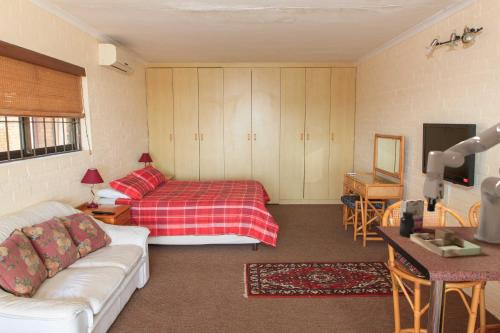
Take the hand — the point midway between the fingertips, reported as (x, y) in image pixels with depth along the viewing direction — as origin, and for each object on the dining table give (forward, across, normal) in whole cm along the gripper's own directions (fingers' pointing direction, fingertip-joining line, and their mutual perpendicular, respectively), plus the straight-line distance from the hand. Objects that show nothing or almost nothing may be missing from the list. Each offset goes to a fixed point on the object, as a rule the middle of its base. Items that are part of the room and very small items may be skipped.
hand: (430, 211), depth 181 cm
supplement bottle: (+13, +3, +11) cm, 17 cm away
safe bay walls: (+13, -22, +3) cm, 26 cm away
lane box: (+13, -15, +4) cm, 20 cm away
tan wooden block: (+13, -10, -1) cm, 17 cm away
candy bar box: (+13, +12, +2) cm, 18 cm away
